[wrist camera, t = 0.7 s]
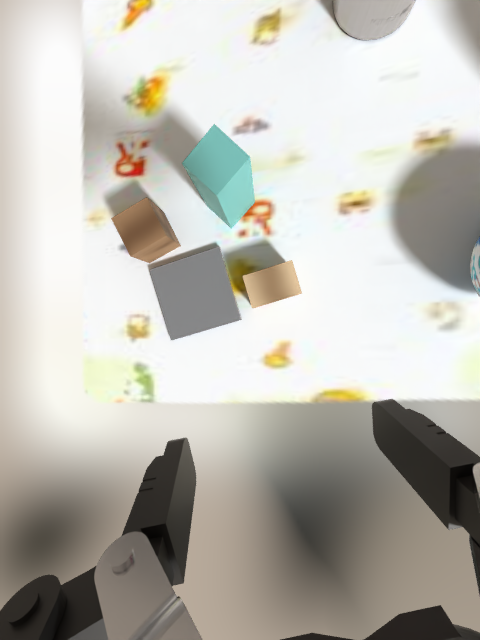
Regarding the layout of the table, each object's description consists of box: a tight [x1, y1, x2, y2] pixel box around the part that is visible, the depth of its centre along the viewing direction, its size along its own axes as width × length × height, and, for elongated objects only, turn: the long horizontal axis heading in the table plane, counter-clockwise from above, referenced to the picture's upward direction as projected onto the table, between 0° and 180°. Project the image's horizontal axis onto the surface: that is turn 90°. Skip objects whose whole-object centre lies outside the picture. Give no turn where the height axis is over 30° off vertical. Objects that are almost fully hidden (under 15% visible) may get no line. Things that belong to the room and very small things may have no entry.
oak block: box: [243, 260, 302, 308], centre depth 31 cm, size 6×4×4 cm, turn 107°
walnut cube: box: [111, 197, 181, 263], centre depth 32 cm, size 5×5×5 cm
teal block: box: [182, 124, 255, 229], centre depth 28 cm, size 4×4×10 cm
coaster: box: [150, 247, 242, 340], centre depth 33 cm, size 10×10×1 cm
